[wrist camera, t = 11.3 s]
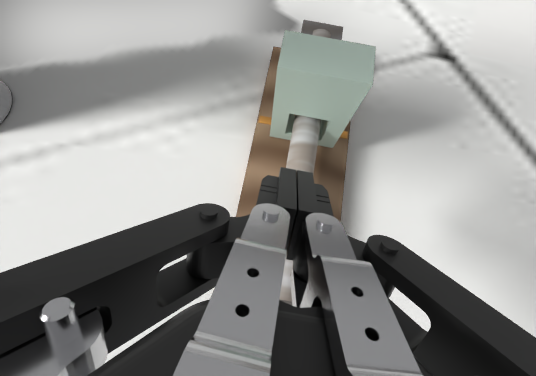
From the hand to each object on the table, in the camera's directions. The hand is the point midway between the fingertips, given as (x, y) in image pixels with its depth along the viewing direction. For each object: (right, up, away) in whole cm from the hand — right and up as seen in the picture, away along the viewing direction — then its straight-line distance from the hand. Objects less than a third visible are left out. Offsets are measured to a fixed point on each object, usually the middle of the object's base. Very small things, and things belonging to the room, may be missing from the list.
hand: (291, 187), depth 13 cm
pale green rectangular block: (+3, +8, +22) cm, 23 cm away
